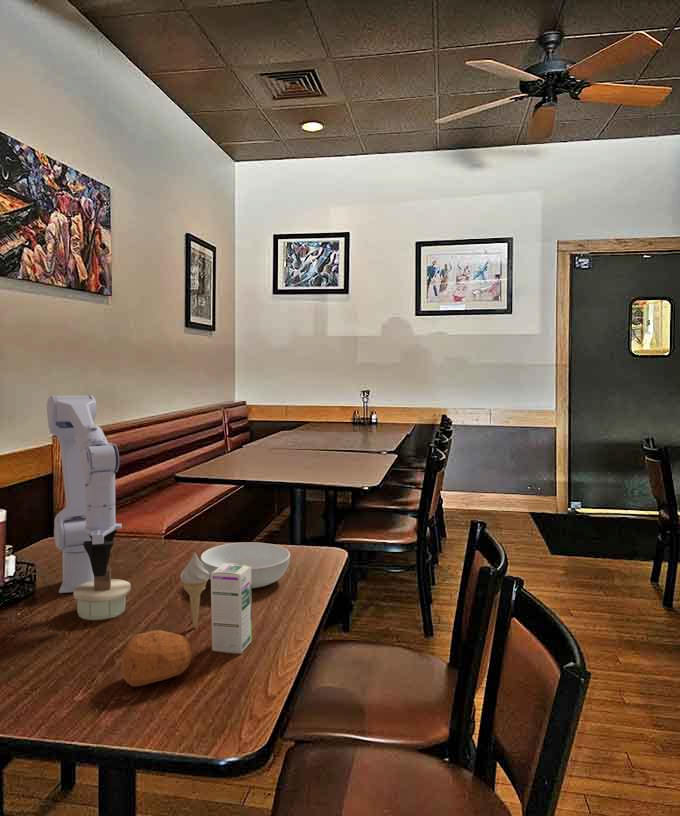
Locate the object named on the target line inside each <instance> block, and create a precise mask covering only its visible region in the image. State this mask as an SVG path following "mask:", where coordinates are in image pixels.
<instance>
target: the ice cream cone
mask: <svg viewBox="0 0 680 816" xmlns="http://www.w3.org/2000/svg"><path fill="white" fill-rule="evenodd" d="M209 575H210V574H209V572H208V571H207V570H205V567H204V565H203V564H202V563H201V559H200V558H199V557H198V555H197V554H196V552H195V551H194V552H193V554H192V556H191V558H190V560H189V561H188V562H187V564H186V566H185V568H183V570H182V572H181V573H180V574H179V576H180V577H179V578H180V582H181V583H182V585H183V589H184V591H185V592H187V594H188V595H189V601H190V602H189V603H190V610H191V617H192V626H193V628H194V629H196V628H197V627H198V622H199V620H198V619H199V610H200V602H201V601H200V600H201V594H202V592H203V591H204V590H205V589H206V585H207V583H208V581H209V580H210V579H209V577H208V576H209Z"/></svg>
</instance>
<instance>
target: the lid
mask: <svg viewBox="0 0 680 816" xmlns="http://www.w3.org/2000/svg"><path fill="white" fill-rule="evenodd" d="M111 573H112V568H111V565H107V570H106V574H105V576H96V577H95V576H94V581H90V582H87V583H84V584H81V585H79V586H77V587H76V588H75V589H74V592H73V598H74V599H75V600H76V601H77V600H79V601H83V602H105V601H111V600H115V599H119V598H122V597H124V596H125V597H126V596H128V595H129V594H130V593H131V590H132V587H131V583H130V582H129V581H127V580H123V579H119V578H117V579H116V578H111V577H112V575H111Z"/></svg>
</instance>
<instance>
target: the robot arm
mask: <svg viewBox="0 0 680 816" xmlns="http://www.w3.org/2000/svg"><path fill="white" fill-rule="evenodd" d="M46 414H47V424H48V425H47V426H48V429H49V434H52V435H54V436H55V437H57V440H58V443H59V447H60V456H61V458H60V459H61V467H62V477H63V485H64V486H63V488H64V496H65V497H64V498H65V507H64V508H63V509H61V511H59V512H58V513H57V514H56V515H55V517H54V521H53V523H54V528H53V537H54V538H53V539H54V544H55V546H56V548H57V549H58V550H60V551H62V553H61V554H62V583H61V585H60V588H59V589H58V593H59V594H65V593H66V594H67V593H74V589H75V588H76V587H77V586H79V585H81V584H84V583H87V582H90V581H94V576H95V577H96V576H105V574H106V570H107V566H108V565H109V561H110V555H111V550H112V548H113V546H114V544H115V541H114V538H115V536H116V534H117V532H118V530H121V529H122V527H123V525H122V523H116V522H117V521H116V520H117V519H116V513H117V512H116V473H118V471H119V468H120V453H119V449H118V447H117V444H115V443H112V442H109V441H108V440H107V438H106V435H105V433H104V431H103V429H102V428H101V427H100V426H99V425H96V424H95V423H94V421H95V419H96V416H97V401H96V398H95V397H94V396H93V395H92V394H87V395H85V394H84V395H54V394H52V395H51V394H50V396H49V397H48V398H47V402H46Z"/></svg>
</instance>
